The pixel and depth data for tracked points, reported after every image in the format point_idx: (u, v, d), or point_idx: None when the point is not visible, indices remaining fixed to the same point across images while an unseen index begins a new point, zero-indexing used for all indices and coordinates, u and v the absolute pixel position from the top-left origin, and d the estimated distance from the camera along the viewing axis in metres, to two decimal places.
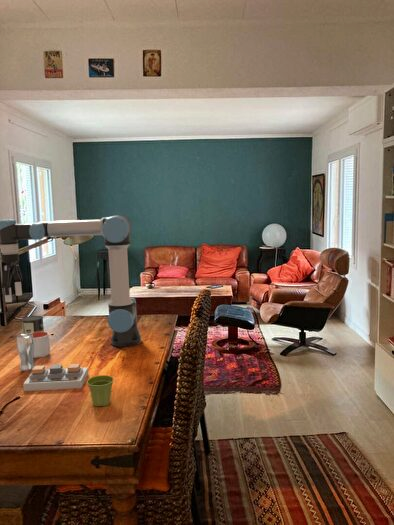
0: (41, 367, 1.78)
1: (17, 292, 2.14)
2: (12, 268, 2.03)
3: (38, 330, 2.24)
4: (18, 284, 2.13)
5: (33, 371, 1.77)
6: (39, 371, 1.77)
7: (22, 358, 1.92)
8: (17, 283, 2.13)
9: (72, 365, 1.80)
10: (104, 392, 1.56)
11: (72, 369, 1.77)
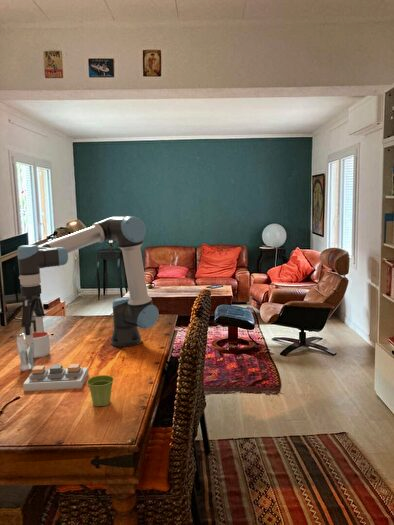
0: (41, 367, 1.78)
1: (38, 329, 1.83)
2: (33, 302, 1.73)
3: None
4: (39, 319, 1.83)
5: (33, 371, 1.77)
6: (39, 371, 1.77)
7: (22, 358, 1.92)
8: (38, 318, 1.83)
9: (72, 365, 1.80)
10: (104, 392, 1.56)
11: (72, 369, 1.77)
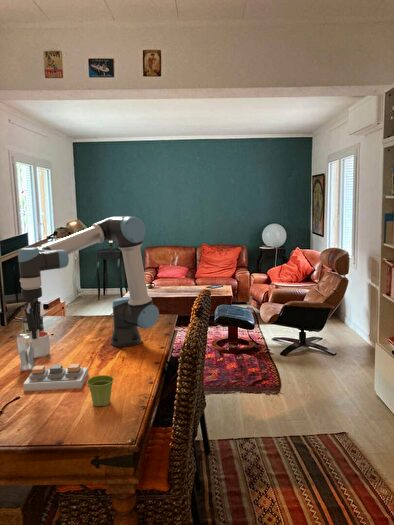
0: (41, 367, 1.78)
1: None
2: (34, 306, 1.73)
3: None
4: None
5: (33, 371, 1.77)
6: (39, 371, 1.77)
7: (22, 358, 1.92)
8: None
9: (72, 365, 1.80)
10: (104, 392, 1.56)
11: (72, 369, 1.77)
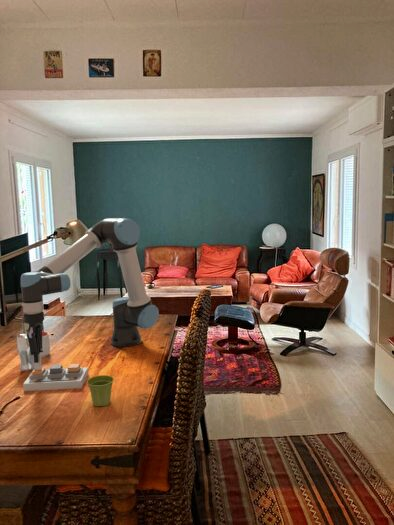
0: (41, 369, 1.78)
1: None
2: (37, 331, 1.74)
3: None
4: None
5: (33, 373, 1.77)
6: (39, 373, 1.77)
7: (22, 358, 1.92)
8: None
9: (72, 365, 1.80)
10: (104, 392, 1.56)
11: (72, 369, 1.77)
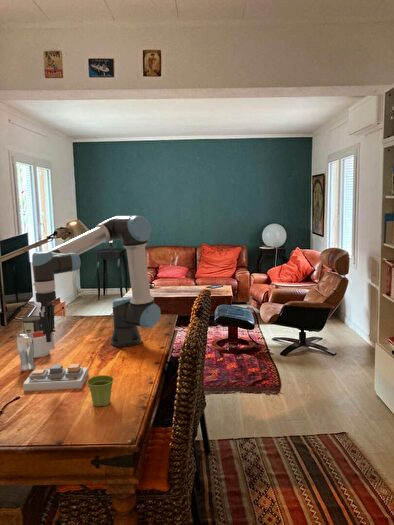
0: (41, 371, 1.79)
1: None
2: (49, 310, 1.74)
3: (38, 330, 2.24)
4: None
5: None
6: None
7: (22, 358, 1.92)
8: None
9: (72, 365, 1.80)
10: (104, 392, 1.56)
11: (72, 369, 1.77)
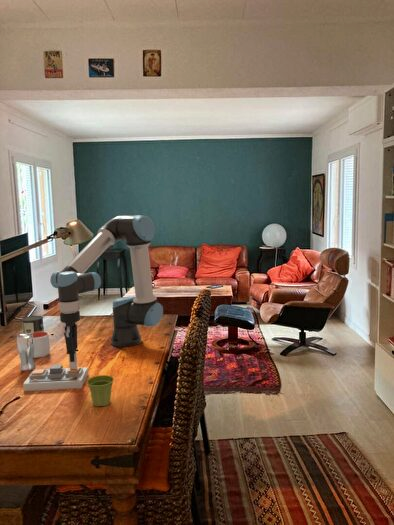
0: (41, 371, 1.79)
1: None
2: (73, 330, 1.75)
3: (38, 330, 2.24)
4: None
5: None
6: None
7: (22, 358, 1.92)
8: None
9: None
10: (104, 392, 1.56)
11: (72, 372, 1.77)
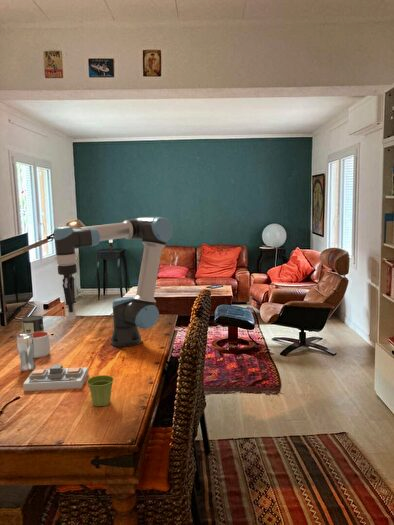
0: (41, 371, 1.79)
1: None
2: (71, 282, 1.85)
3: (38, 330, 2.24)
4: None
5: None
6: None
7: (22, 358, 1.92)
8: None
9: (72, 369, 1.80)
10: (104, 392, 1.56)
11: None
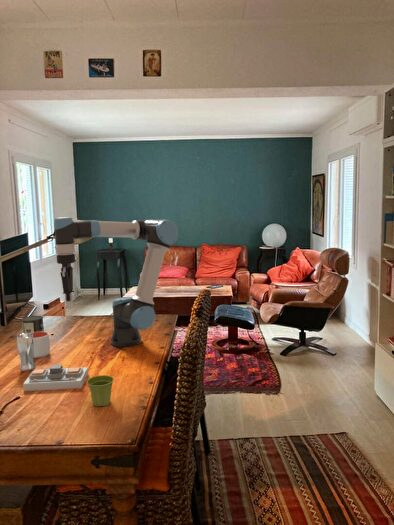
0: (41, 371, 1.79)
1: None
2: (69, 271, 1.89)
3: (38, 330, 2.24)
4: None
5: None
6: None
7: (22, 358, 1.92)
8: None
9: (72, 369, 1.80)
10: (104, 392, 1.56)
11: None
